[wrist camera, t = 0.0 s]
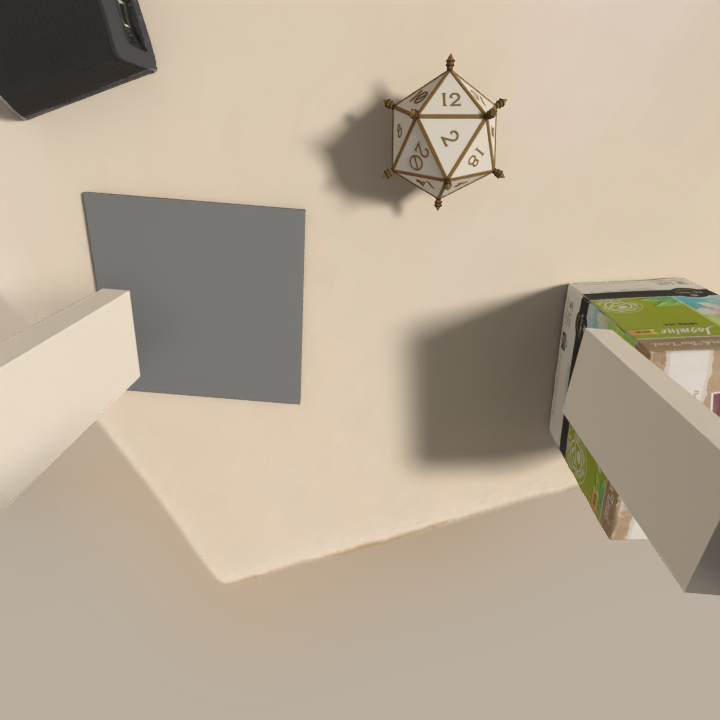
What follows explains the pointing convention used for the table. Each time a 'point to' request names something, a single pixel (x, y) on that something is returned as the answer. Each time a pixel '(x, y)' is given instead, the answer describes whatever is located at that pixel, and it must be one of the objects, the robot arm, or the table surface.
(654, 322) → the tea box
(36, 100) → the external hard drive
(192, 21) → the table surface
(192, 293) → the mat
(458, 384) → the table surface
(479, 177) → the game die
